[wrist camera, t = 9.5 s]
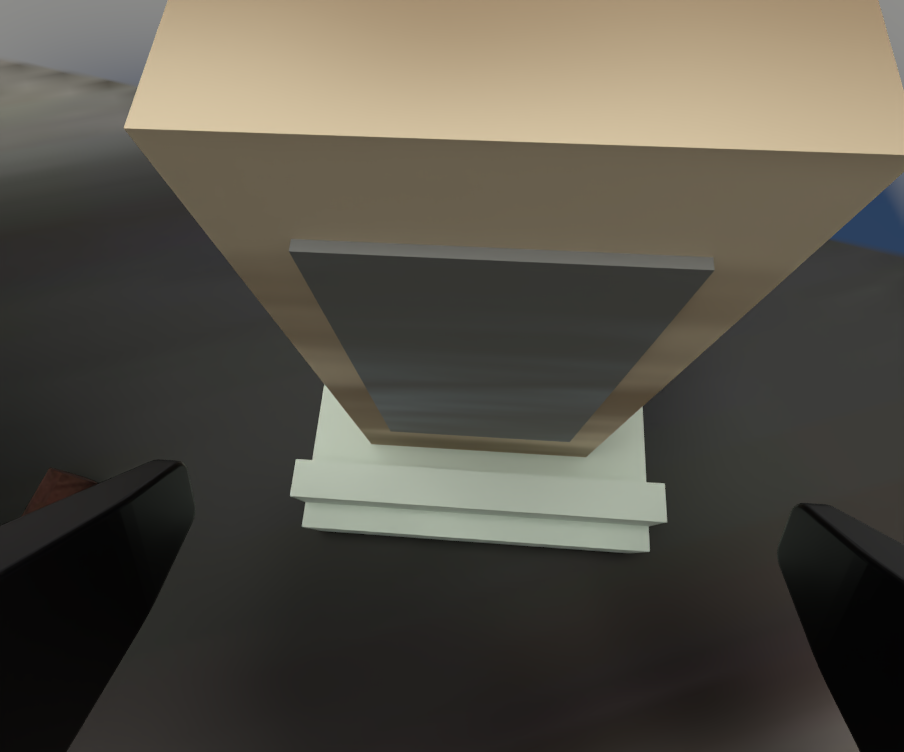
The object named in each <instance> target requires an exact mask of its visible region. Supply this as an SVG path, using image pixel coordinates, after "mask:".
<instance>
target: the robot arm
mask: <svg viewBox="0 0 904 752" xmlns="http://www.w3.org/2000/svg"><path fill="white" fill-rule="evenodd" d="M194 515H195V501H194V497H193V492H192V487H191V482H190V478H189V473H188V469H187V467H186V465H185V464H184V463H183V462H181V461H173V460H153V461H150V462H148V463H146V464H143V465H141V466H139V467H136V468H134V469H132V470H129V471H127V472H125V473H122V474H120V475H118V476H115V477H113V478H111V479H108V480H106V481H104V482H101V483H99V484H97V485H94V486H92V487H90V488H87V489H85V490H83V491H80V492H78V493H76V494H73V495H71V496H69V497H66V498H64V499H62V500H59V501H57V502H55V503H52V504H50V505H48V506H45V507H43V508H41V509H38V510H36V511H34V512H31V513H29V514H26V515H24V516H22V517H19V518H17V519H15V520H12V521H10V522H8V523H5V524H3V525H1V526H0V752H67V750H68V748H69V747H70V745H71V743H72V742H73V740H74V738H75V737H76V735H77V733H78V732H79V730H80V728H81V727H82V725H83V723H84V722H85V720H86V718H87V717H88V715H89V713H90V712H91V710H92V708H93V707H94V705H95V703H96V702H97V700H98V698H99V697H100V695H101V693H102V692H103V690H104V688H105V687H106V685H107V683H108V682H109V680H110V678H111V676H112V675H113V673H114V671H115V670H116V668H117V666H118V665H119V663H120V661H121V660H122V658H123V656H124V655H125V653H126V651H127V650H128V648H129V646H130V645H131V643H132V641H133V640H134V638H135V636H136V635H137V633H138V631H139V630H140V628H141V626H142V624H143V623H144V621H145V619H146V617H147V616H148V614H149V612H150V610H151V608H152V606H153V604H154V602H155V600H156V598H157V596H158V594H159V592H160V590H161V588H162V586H163V584H164V581H165V579H166V577H167V575H168V573H169V571H170V569H171V567H172V564H173V562H174V560H175V558H176V556H177V554H178V552H179V549H180V547H181V545H182V543H183V541H184V539H185V537H186V535H187V532H188V530H189V528H190V526H191V524H192V522H193V519H194ZM777 556H778V562H779V566H780V568H781V571H782V574H783V576H784V579H785V582H786V584H787V587H788V589H789V592H790V595H791V597H792V600H793V603H794V605H795V608H796V611H797V613H798V616H799V618H800V621H801V624H802V626H803V629H804V632H805V634H806V637H807V640H808V642H809V645H810V647H811V650H812V652H813V655H814V657H815V660H816V662H817V664H818V667H819V669H820V671H821V673H822V675H823V677H824V680H825V682H826V684H827V686H828V688H829V690H830V692H831V694H832V696H833V698H834V700H835V702H836V704H837V706H838V708H839V710H840V712H841V714H842V716H843V718H844V720H845V722H846V724H847V726H848V728H849V730H850V732H851V734H852V736H853V738H854V740H855V742H856V745H857V747H858V749H859V751H860V752H904V545H903V544H901V543H899V542H897V541H896V540H894V539H892V538H890V537H888V536H886V535H884V534H883V533H881V532H879V531H877V530H875V529H873V528H871V527H870V526H868V525H866V524H864V523H862V522H860V521H858V520H857V519H855V518H853V517H851V516H849V515H847V514H845V513H844V512H842V511H840V510H838V509H836V508H834V507H832V506H830V505H826V504H811V503H800V504H797V505H796V506H795V507H794V508H793V509H792V511H791V513H790V516H789V518H788V521H787V524H786V526H785V529H784V532H783V534H782V537H781V540H780V542H779V545H778V551H777Z"/></svg>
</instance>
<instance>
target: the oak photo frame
mask: <svg viewBox="0 0 904 752" xmlns="http://www.w3.org/2000/svg"><path fill="white" fill-rule="evenodd" d="M124 129H125V131H126V132H127V133H128V134H129V136H130V137H131V138H132V140H133V141H134V142H135V143H136V145H137V146H138V147H139V148H140V150H141V151H142V152H143V154H144V155H145V156H146V157H147V159H148V160H149V161H150V162H151V164H152V165H153V166H154V168H155V169H156V170H157V171H158V173H159V174H160V175H161V176H162V178H163V179H164V180H165V182H166V183H167V184H168V185H169V187H170V188H171V189H172V190H173V192H174V193H175V194H176V196H177V197H178V198H179V199H180V201H181V202H182V203H183V205H184V206H185V207H186V208H187V210H188V211H189V212H190V213H191V215H192V216H193V217H194V219H195V220H196V221H197V222H198V224H199V225H200V226H201V227H202V229H203V230H204V231H205V233H206V234H207V235H208V236H209V238H210V239H211V240H212V241H213V243H214V244H215V245H216V247H217V248H218V249H219V250H220V252H221V253H222V254H223V256H224V257H225V258H226V259H227V261H228V262H229V263H230V264H231V266H232V267H233V268H234V270H235V271H236V272H237V273H238V275H239V276H240V277H241V278H242V280H243V281H244V282H245V284H246V285H247V286H248V287H249V289H250V290H251V291H252V292H253V294H254V295H255V296H256V298H257V299H258V300H259V301H260V303H261V304H262V305H263V306H264V308H265V309H266V310H267V312H268V313H269V314H270V315H271V317H272V318H273V319H274V321H275V322H276V323H277V324H278V326H279V327H280V328H281V329H282V331H283V332H284V333H285V335H286V336H287V337H288V338H289V340H290V341H291V342H292V343H293V345H294V346H295V347H296V349H297V350H298V351H299V352H300V354H301V355H302V356H303V357H304V359H305V360H306V361H307V363H308V364H309V365H310V366H311V368H312V369H313V370H314V372H315V373H316V374H317V375H318V377H319V378H320V379H321V380H322V382H323V383H324V384H325V386H326V387H327V388H328V389H329V391H330V392H331V393H332V394H333V396H334V397H335V398H336V400H337V401H338V402H339V403H340V405H341V406H342V407H343V408H344V410H345V411H346V412H347V414H348V415H349V416H350V417H351V419H352V420H353V421H354V423H355V424H356V425H357V426H358V428H359V429H360V430H361V431H362V433H363V434H364V435H365V437H366V438H367V439H368V440H369V442H370V443H371V444H376V445H393V446H409V447H425V448H442V449H458V450H475V451H491V452H508V453H524V454H541V455H557V456H573V457H587V456H588V455H589V454H590V453H591V452H592V451H593V450H595V449H596V448H597V447H598V446H599V445H600V444H601V443H602V442H603V441H605V440H606V439H607V438H608V437H609V436H610V435H611V434H612V433H614V432H615V431H616V430H617V429H618V428H619V427H620V426H621V425H622V424H624V423H625V422H626V421H627V420H628V419H629V418H630V417H631V416H632V415H634V414H635V413H636V412H637V411H638V410H639V409H640V408H641V407H642V406H644V405H645V404H646V403H647V402H648V401H649V400H650V399H651V398H652V397H654V396H655V395H656V394H657V393H658V392H659V391H660V390H661V389H663V388H664V387H665V386H666V385H667V384H668V383H669V382H670V381H671V380H673V379H674V378H675V377H676V376H677V375H678V374H679V373H680V372H681V371H683V370H684V369H685V368H686V367H687V366H688V365H689V364H690V363H691V362H693V361H694V360H695V359H696V358H697V357H698V356H699V355H700V354H702V353H703V352H704V351H705V350H706V349H707V348H708V347H709V346H710V345H712V344H713V343H714V342H715V341H716V340H717V339H718V338H719V337H720V336H722V335H723V334H724V333H725V332H726V331H727V330H728V329H729V328H730V327H732V326H733V325H734V324H735V323H736V322H737V321H738V320H739V319H741V318H742V317H743V316H744V315H745V314H746V313H747V312H748V311H749V310H751V309H752V308H753V307H754V306H755V305H756V304H757V303H758V302H759V301H761V300H762V299H763V298H764V297H765V296H766V295H767V294H768V293H769V292H771V291H772V290H773V289H774V288H775V287H776V286H777V285H778V284H779V283H781V282H782V281H783V280H784V279H785V278H786V277H787V276H788V275H790V274H791V273H792V272H793V271H794V270H795V269H796V268H797V267H798V266H800V265H801V264H802V263H803V262H804V261H805V260H806V259H807V258H808V257H810V256H811V255H812V254H813V253H814V252H815V251H816V250H817V249H818V248H820V247H821V246H822V245H823V244H824V243H825V242H826V241H827V240H829V239H830V238H831V237H832V236H833V235H834V234H835V233H836V232H837V231H838V230H840V229H841V228H842V227H843V226H844V225H845V224H846V223H847V222H849V221H850V220H851V219H852V218H853V217H854V216H855V215H856V214H857V213H859V212H860V211H861V210H862V209H863V208H864V207H865V206H866V205H868V204H869V203H870V202H871V201H872V200H873V199H874V198H875V197H876V196H878V195H879V194H880V193H881V192H882V191H883V190H884V189H885V188H886V187H888V186H889V185H890V184H891V183H892V182H893V181H894V180H895V179H896V178H897V177H899V176H900V175H901V174H902V173H903V172H904V90H903V86H902V83H901V79H900V76H899V73H898V69H897V65H896V61H895V58H894V54H893V51H892V47H891V44H890V40H889V37H888V33H887V30H886V26H885V23H884V19H883V16H882V12H881V8H880V5H879V1H878V0H168V2H167V4H166V7H165V10H164V13H163V16H162V19H161V22H160V25H159V28H158V30H157V33H156V36H155V39H154V42H153V45H152V48H151V51H150V54H149V56H148V59H147V62H146V65H145V68H144V71H143V74H142V77H141V80H140V82H139V85H138V88H137V91H136V94H135V97H134V100H133V103H132V106H131V109H130V111H129V114H128V117H127V120H126V123H125V126H124Z"/></svg>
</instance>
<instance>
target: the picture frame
mask: <svg viewBox="0 0 904 752" xmlns="http://www.w3.org/2000/svg"><path fill="white" fill-rule="evenodd" d="M94 485H97V482H95V481H93V480H90V479H87V478H85V477H82V476H79V475H76V474H72V473H69V472H66V471H62V470H59V469H55V468H49V470H48V471H47V473H46V475H45V476H44V478H43V480H42V482H41V483H40V485H39V487H38V489H37V490H36V492H35V494H34V495H33V497H32V499H31V501H30V502H29V504H28V506H27V507H26V509H25V511H24V513H23V514H22V516H24V515H26V514H29V513H31V512H34V511H36V510H38V509H41V508H43V507H45V506H48V505H50V504H52V503H55V502H57V501H59V500H62V499H64V498H66V497H69V496H71V495H73V494H76V493H78V492H80V491H83V490H85V489H87V488H90V487H92V486H94ZM22 516H21V517H22Z"/></svg>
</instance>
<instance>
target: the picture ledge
mask: <svg viewBox="0 0 904 752" xmlns="http://www.w3.org/2000/svg"><path fill="white" fill-rule="evenodd" d="M290 496H291V497H294V498H296V499H299V500H301V501H304V502H306V503H305V509H304V516H303V522H302V527H305V528H310V529H314V530H318V531H329V532H343V533H357V534H371V535H384V536H398V537H412V538H426V539H439V540H453V541H467V542H480V543H494V544H508V545H522V546H535V547H549V548H563V549H577V550H590V551H604V552H618V553H641V552H650V545H649V526H652V525H657V524H662V523H666V522H667V512H666V495H665V484H663V483H648V482H646V466H645V446H644V426H643V407H641V408H640V409H639V410H638V411H637V412H636V413H635V414H634V415H632V416H631V417H630V418H629V419H628V420H627V421H626V422H625V423H624V424H622V425H621V426H620V427H619V428H618V429H617V430H616V431H615V432H614V433H612V434H611V435H610V436H609V437H608V438H607V439H606V440H605V441H603V442H602V443H601V444H600V445H599V446H598V447H597V448H596V449H595V450H593V451H592V452H591V453H590V454H589V455H588V456H587V457H573V456H557V455H541V454H524V453H508V452H491V451H475V450H458V449H442V448H425V447H409V446H393V445H376V444H371V443H370V442H369V440H368V439H367V438H366V437H365V435H364V434H363V433H362V431H361V430H360V429H359V428H358V426H357V425H356V424H355V423H354V421H353V420H352V419H351V417H350V416H349V415H348V414H347V412H346V411H345V410H344V408H343V407H342V406H341V405H340V403H339V402H338V401H337V400H336V398H335V397H334V396H333V394H332V393H331V392H330V391H329V389H328V388H327V387H326V386H325V384H324V390H323V396H322V402H321V408H320V415H319V421H318V427H317V434H316V440H315V446H314V453H313V459H312V460H301V459H296V462H295V468H294V474H293V480H292V486H291V492H290Z"/></svg>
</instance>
